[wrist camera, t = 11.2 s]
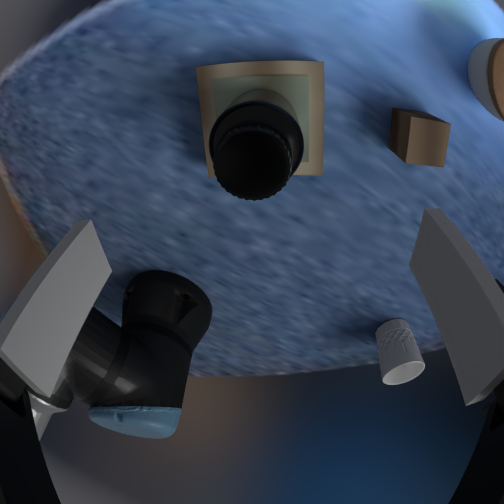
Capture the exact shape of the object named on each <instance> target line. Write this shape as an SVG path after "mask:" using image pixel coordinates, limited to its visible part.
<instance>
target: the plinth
mask: <svg viewBox="0 0 504 504" xmlns="http://www.w3.org/2000/svg"><path fill="white" fill-rule="evenodd" d="M196 75H197V85H198V94H199V104H200V112H201V121H202V130H203V138H204V146H205V154H206V162H207V169H208V177H209V178H214V177H216V176H215V174H214V172H215V171H214V169H213V162H212V160H211V157H210V153H209V136H210V132H211V129H212V127H213V125H214V123H215V121H216V120H217V118H218V117H219V116H220V115H221V114H222V112H223V111H224V110H225V109H226V108H227V107H228V106H229V105H230V104H231V102H232V101H233V100H234V99H236V98H237V97H238V96H239V95H241V94H242V93H244V92H247V91H250V90H254V89H268V90H272V91H275V92H277V93H279V94H281V95H282V96H284V97H285V98H286V99H287V100H288V101H289V102H290V103H291V105H292V106H293V108H294V110H295V112H296V115H297V118H298V121H299V124H300V127H301V130H302V134H303V139H304V153H303V157H302V160H301V163H300V165H299V167H298V168H297V170H296V171H295V173H294V174H293V175H322V172H323V147H324V62H320V61H253V62H237V63H226V64H216V65H207V66H200V67H196Z"/></svg>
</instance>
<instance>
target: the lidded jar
mask: <svg viewBox="0 0 504 504" xmlns="http://www.w3.org/2000/svg"><path fill="white" fill-rule="evenodd" d="M467 74H468V79H469V83H470V86H471V88H472V90H473V92H474V94H475V96H476V98H477V99H478V101H479V102H480V103H481V104H482V106H483V107H484V108H485V109H486V110H487V111H489V112H490V113H491V114H492V115H493V116H495V117H496V118H498V119H499V120H501V121H503V122H504V38H491V39H487V40H484V41H482V42H480V43H478V44H477V45H476V46H475V47H474V48H473V50H472V51H471V53H470V55H469V59H468V64H467Z"/></svg>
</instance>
